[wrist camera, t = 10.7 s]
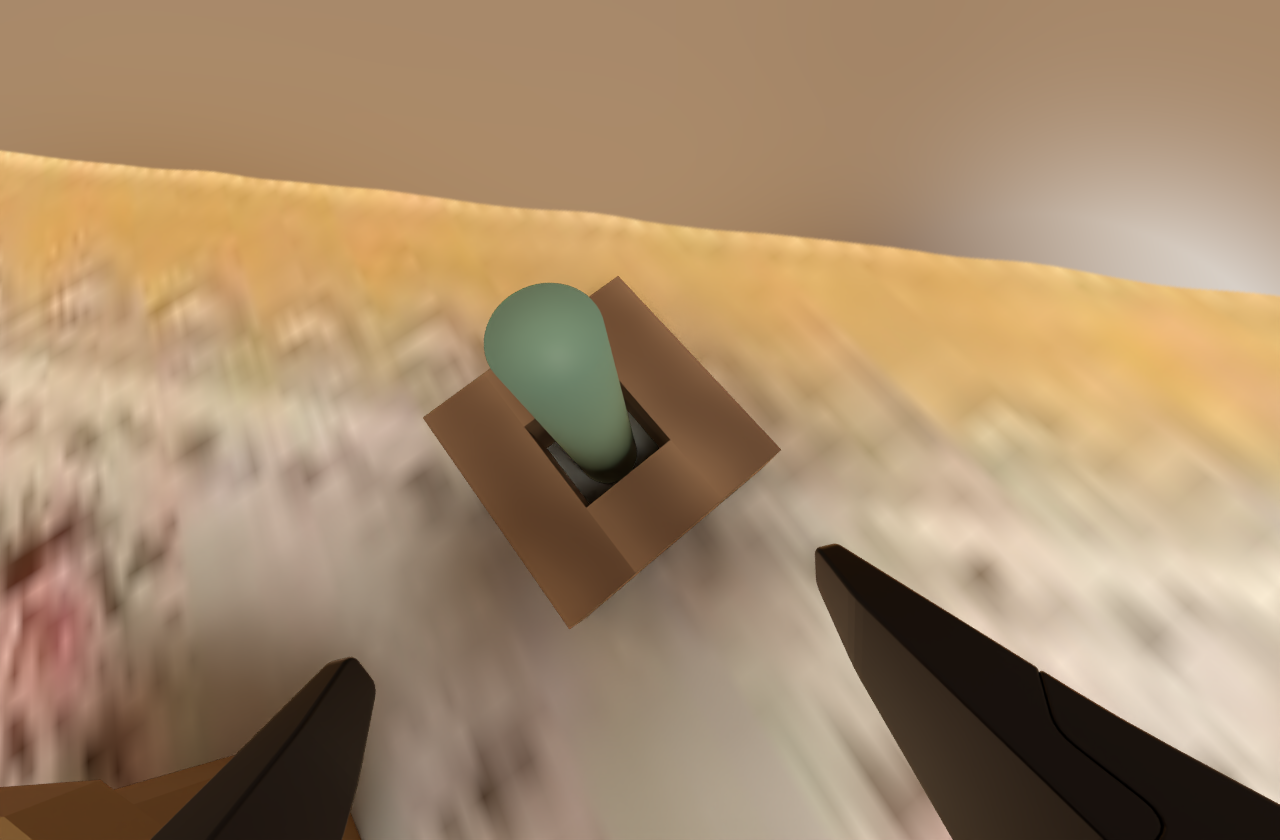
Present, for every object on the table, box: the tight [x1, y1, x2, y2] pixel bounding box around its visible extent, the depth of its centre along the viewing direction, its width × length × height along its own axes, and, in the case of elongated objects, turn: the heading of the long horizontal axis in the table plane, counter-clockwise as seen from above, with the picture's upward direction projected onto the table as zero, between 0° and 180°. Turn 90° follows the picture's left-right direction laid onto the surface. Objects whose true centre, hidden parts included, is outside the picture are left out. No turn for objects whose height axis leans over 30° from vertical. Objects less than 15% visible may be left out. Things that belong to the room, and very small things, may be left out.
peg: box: [484, 283, 637, 483], centre depth 18 cm, size 3×3×13 cm
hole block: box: [423, 276, 781, 629], centre depth 22 cm, size 11×11×4 cm
